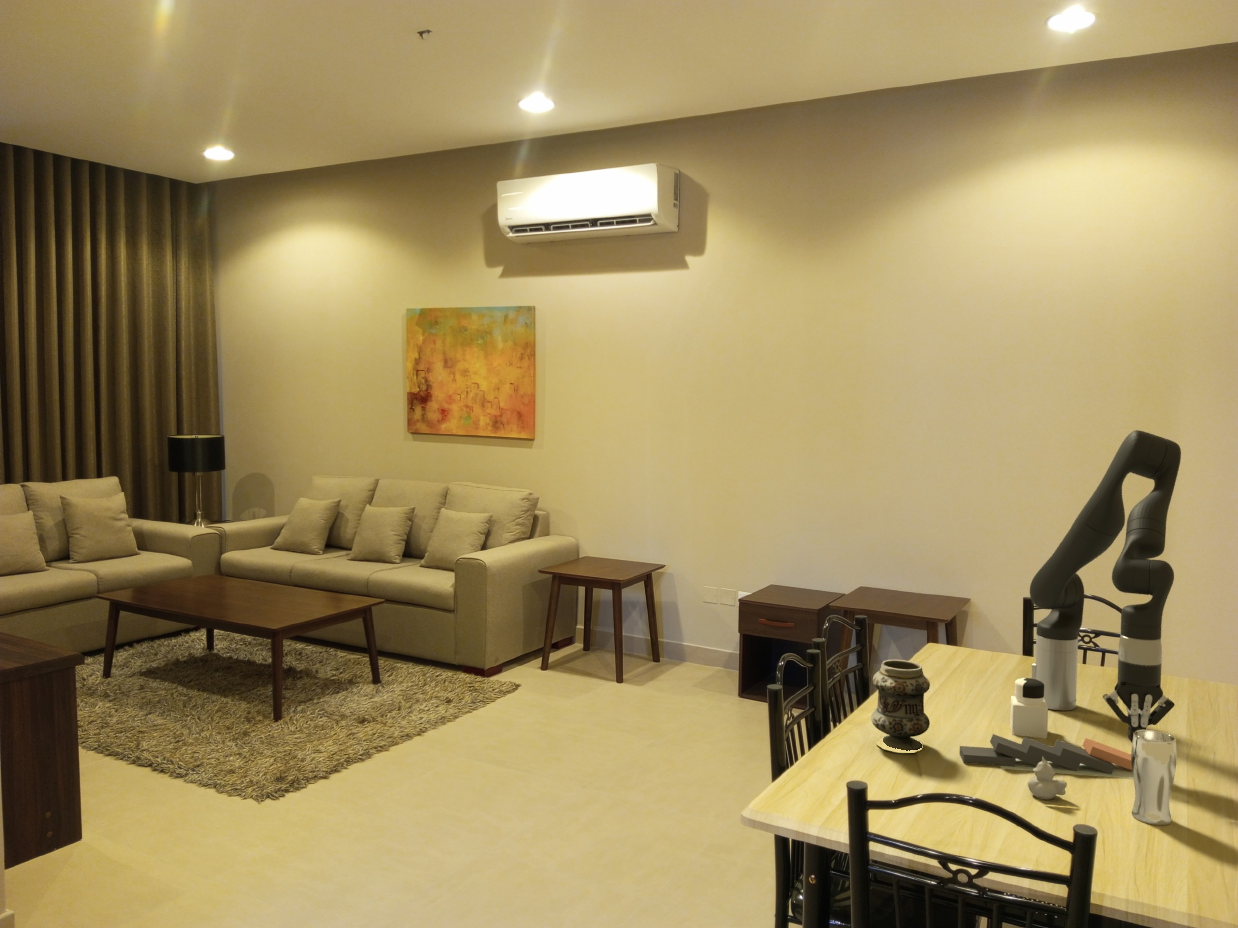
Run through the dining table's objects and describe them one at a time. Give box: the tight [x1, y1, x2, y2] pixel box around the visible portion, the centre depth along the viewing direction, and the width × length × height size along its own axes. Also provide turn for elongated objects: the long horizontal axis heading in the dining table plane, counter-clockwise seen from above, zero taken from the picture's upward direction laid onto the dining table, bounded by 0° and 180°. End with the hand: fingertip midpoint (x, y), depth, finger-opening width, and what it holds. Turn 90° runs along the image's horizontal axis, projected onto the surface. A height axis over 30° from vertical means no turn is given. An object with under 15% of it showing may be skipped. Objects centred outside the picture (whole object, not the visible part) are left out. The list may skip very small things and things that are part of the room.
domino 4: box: [1053, 738, 1114, 774], centre depth 187 cm, size 2×5×10 cm
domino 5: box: [1081, 737, 1132, 770], centre depth 187 cm, size 2×5×10 cm
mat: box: [999, 759, 1177, 783], centre depth 187 cm, size 32×8×1 cm, turn 78°
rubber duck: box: [1027, 757, 1068, 801], centre depth 173 cm, size 5×7×8 cm
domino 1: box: [959, 745, 1016, 767], centre depth 191 cm, size 2×5×10 cm
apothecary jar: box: [870, 659, 931, 751], centre depth 199 cm, size 12×12×18 cm
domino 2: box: [989, 733, 1047, 766], centre depth 190 cm, size 2×5×10 cm
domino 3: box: [1020, 736, 1080, 771], centre depth 188 cm, size 2×5×10 cm
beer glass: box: [1130, 728, 1177, 826], centre depth 165 cm, size 7×7×15 cm
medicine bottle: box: [1009, 677, 1049, 739], centre depth 208 cm, size 7×7×12 cm
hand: (1136, 743), depth 185 cm, fingers closed
